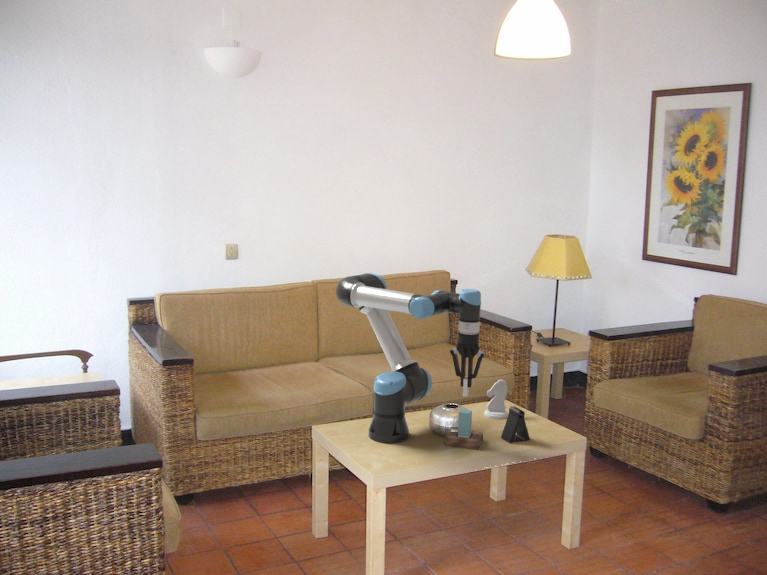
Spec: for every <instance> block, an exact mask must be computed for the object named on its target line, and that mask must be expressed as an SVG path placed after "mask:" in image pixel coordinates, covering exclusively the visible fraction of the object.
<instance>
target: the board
mask: <svg viewBox="0 0 767 575" xmlns="http://www.w3.org/2000/svg"><path fill="white" fill-rule="evenodd" d="M444 438H445V439H444V446H449V445H450V446H451V447H456V446H457V447H458V448H465V449H471V450H478V449H479V447H481V444H482V443H483V441H484V432H482V431H481V432H480V431H473V430H471V438H464V437H458V432H450V431H449V432H448V433H447V434H446V436H445V437H444Z"/></svg>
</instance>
